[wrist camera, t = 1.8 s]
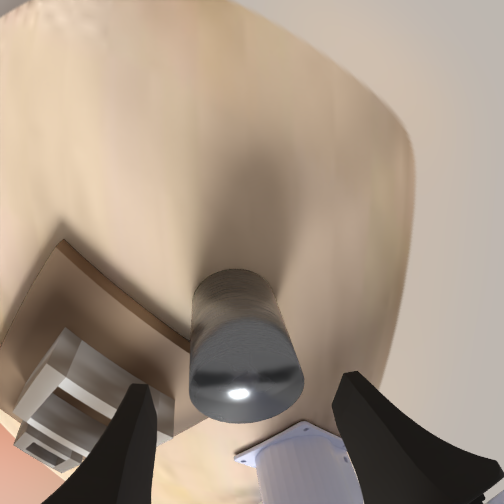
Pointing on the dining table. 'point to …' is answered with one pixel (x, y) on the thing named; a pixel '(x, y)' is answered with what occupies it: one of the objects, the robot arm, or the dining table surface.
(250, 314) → the gray metal cylinder
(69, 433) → the fitting board
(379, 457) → the robot arm
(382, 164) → the dining table surface
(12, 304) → the dining table surface
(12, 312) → the dining table surface
